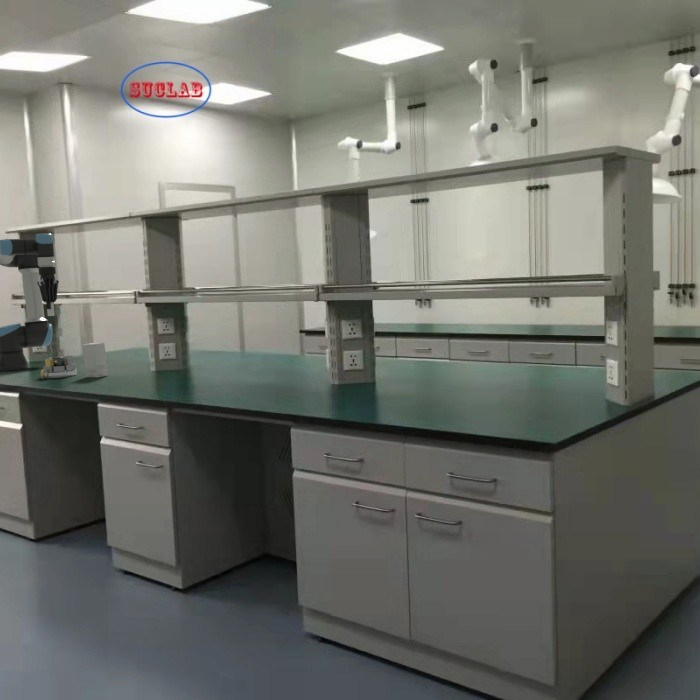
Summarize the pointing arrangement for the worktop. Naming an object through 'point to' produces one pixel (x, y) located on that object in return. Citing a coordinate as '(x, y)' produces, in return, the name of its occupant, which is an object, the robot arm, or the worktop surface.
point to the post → (42, 374)
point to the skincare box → (95, 360)
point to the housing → (60, 362)
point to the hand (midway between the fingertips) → (51, 315)
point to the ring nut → (66, 367)
